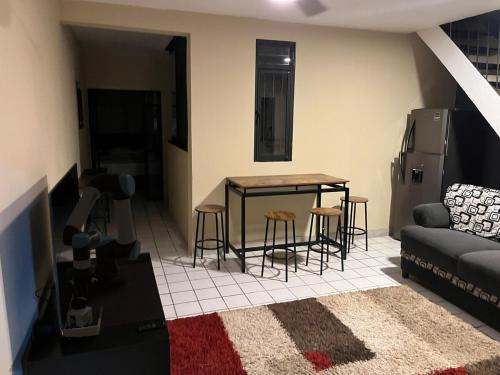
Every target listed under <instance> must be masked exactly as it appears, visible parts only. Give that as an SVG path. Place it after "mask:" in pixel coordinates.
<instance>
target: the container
mask: <svg viewBox="0 0 500 375" xmlns="http://www.w3.org/2000/svg"><path fill="white" fill-rule="evenodd" d="M78 297H79V296H78ZM70 303H71V304H70V305H71V309H72V310H71V311H70V310H68V312H67V313H66V321H67V320H68V324H70V325H74V326H79V327H84V326H85V325H86V324H87V323H88V324H89V325H91V324H92V323H93V309H92V307H91V306H88V307H87V299H86V298H85V297H84V296H82V297H79V298H75V299H74V298H72V300H71V302H70Z"/></svg>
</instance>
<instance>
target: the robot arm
mask: <svg viewBox="0 0 500 375" xmlns="http://www.w3.org/2000/svg"><path fill="white" fill-rule="evenodd" d="M135 188H136V183H135V179H134V178H133V176H132V175H130V174H126V173H113V172H112V173H111V172H110V173H109V172H102V173H99V174H97V175H94V176H93V177H92V178H91V179H89V181H87V183H85V185H84V187H83V189H82V192H83V193H82V194H81V197H80V198H79V200H78V202H77V203H76V205H75V208H74V209H73V211H72V212H71V215H70V216H69V217H68V219H67V222H66V223H65V225H64V227H63V228H64V231H63V242H64V245H65V246H64V247H71V249H72V266H73V278H72V279H70V280H68V282H67V285H68V286H69V288H70V290H71V292H72V295H73V299H75V298H79V297H83V287H84V298H86V299H87V307H89V301H90V300H92V298H93V295H94V291H95V287H96V285H97V282H98V279H99V280H101V279H102V280H105V279H112V278H115V277H116V276H119V275H120V273H121V272H120V267H119V264H118V262H117V260H127V261H135V260H137V259H138V258H139V255H140V253H141V248H142V243H141V241H140V240H138V239H137V236H136V235H135V234H134V226H133V219H132V217H133V216H132V208H131V201H130V199H131V198H132V196H133V195H134V194H135V190H136V189H135ZM104 194H106V195H109V197H110V200H112V201H113V204H114V212H115V221H116V228H117V235H118V236H117V238H116V235H103V233H102V232H101V231H100V230H99V229H94V230H91V231H82V228H83V226H84V224H85V222H86V220H87V219H88V216H89V215H90V213H91V211H92V209H93V207H94V205H95V203H96V202H97V200H98V199H99V198H101V196H102V195H104ZM91 250H95V251H94V252H95V253H94V254H95V264H94V268H93V271H92V265H91V264H92V258H91ZM90 282H91V288H90V293H89V284H90ZM75 284H76V285H77V288H78V292H77V289H76V286H75Z"/></svg>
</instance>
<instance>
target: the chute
mask: <svg viewBox="0 0 500 375" xmlns="http://www.w3.org/2000/svg"><path fill="white" fill-rule="evenodd" d="M99 307H100V308H99V312H98V320H97V325H90V326H87V327H81V328H72V329H70V328H68V329H64V328H63V329H62V330H63V335H64V336H65V337H76V338H83V337H84V336H85V337H93V336H99V335H100V328H101V321H102V315H103V305H101V306H99ZM71 310H72V308H70V309H69V311H71Z"/></svg>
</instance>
